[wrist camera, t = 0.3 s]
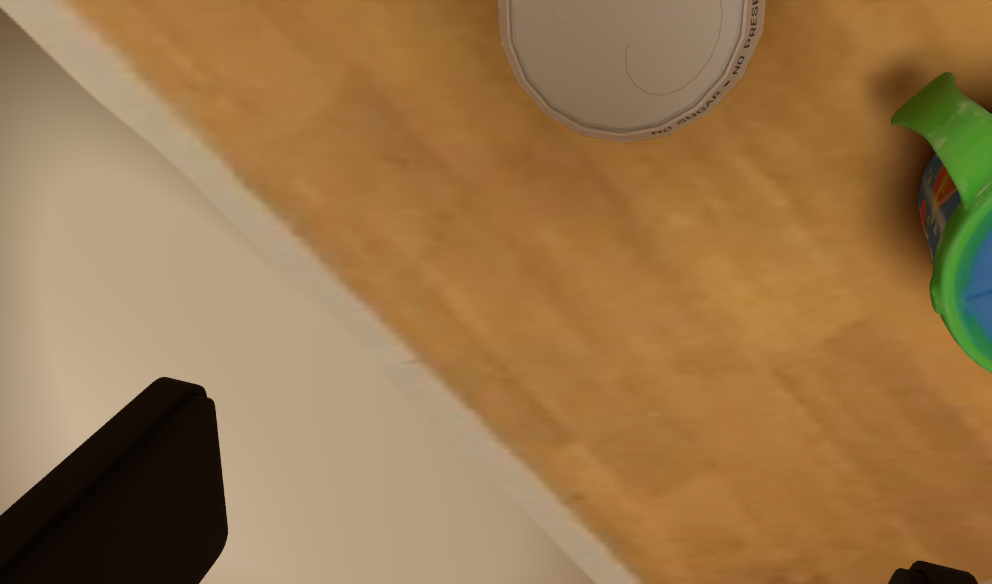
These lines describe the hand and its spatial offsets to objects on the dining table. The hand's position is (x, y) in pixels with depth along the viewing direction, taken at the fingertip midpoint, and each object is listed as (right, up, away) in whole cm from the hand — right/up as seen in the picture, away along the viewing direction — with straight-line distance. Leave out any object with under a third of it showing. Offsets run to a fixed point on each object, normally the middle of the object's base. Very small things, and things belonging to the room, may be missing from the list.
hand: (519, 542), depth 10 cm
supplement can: (+7, +18, +24) cm, 31 cm away
